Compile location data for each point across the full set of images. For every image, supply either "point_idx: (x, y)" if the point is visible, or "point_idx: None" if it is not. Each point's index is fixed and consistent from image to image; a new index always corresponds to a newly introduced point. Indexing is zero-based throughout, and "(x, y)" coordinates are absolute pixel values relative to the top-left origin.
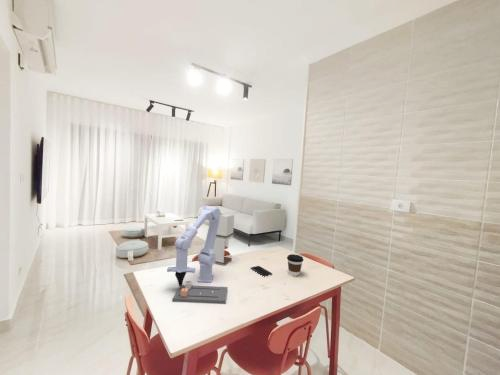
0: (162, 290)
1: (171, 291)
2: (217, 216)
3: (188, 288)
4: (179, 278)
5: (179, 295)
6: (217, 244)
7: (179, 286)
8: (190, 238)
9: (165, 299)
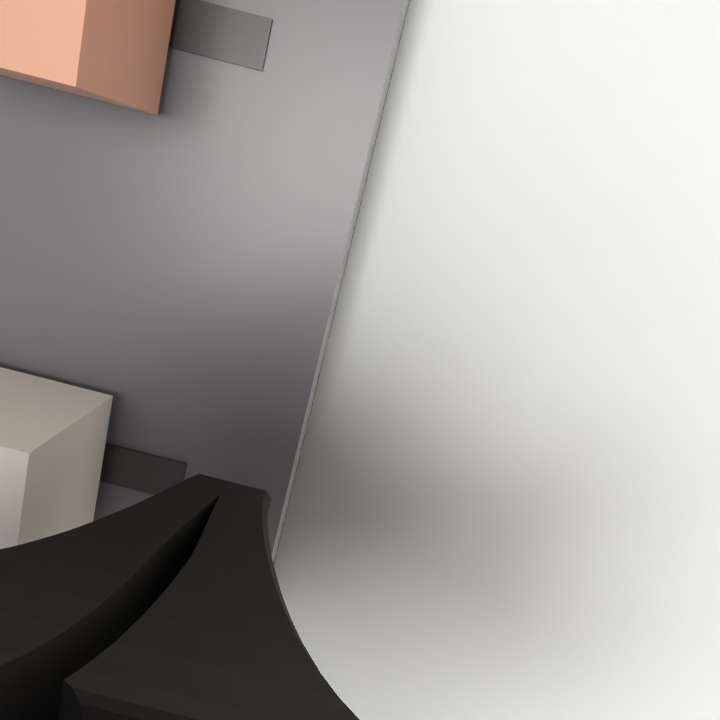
0: (681, 533)
1: (466, 450)
2: None
3: (1, 371)
4: (164, 595)
5: (234, 33)
6: None
7: None
8: None
9: (614, 63)
